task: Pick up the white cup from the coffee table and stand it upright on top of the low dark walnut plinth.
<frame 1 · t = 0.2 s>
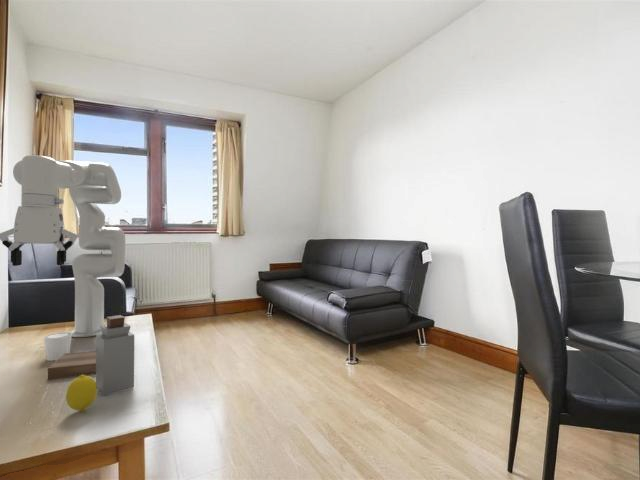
hand: (39, 265, 90), 31 cm above the table, tool pointing down, fingers open, 9 cm apart
lemon: (81, 412, 73), on the table
walnut plinth: (81, 368, 97), on the table
white cup: (58, 357, 105), on the table
perfume bottle: (114, 388, 85), on the table
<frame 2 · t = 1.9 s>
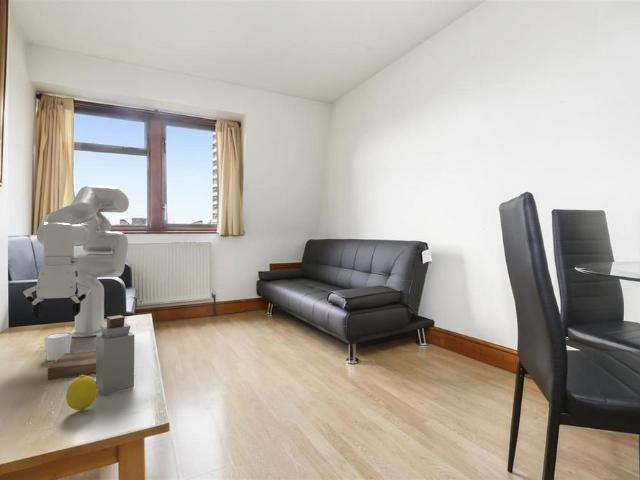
hand: (57, 316, 105), 13 cm above the table, tool pointing down, fingers open, 9 cm apart
nothing on the table moved.
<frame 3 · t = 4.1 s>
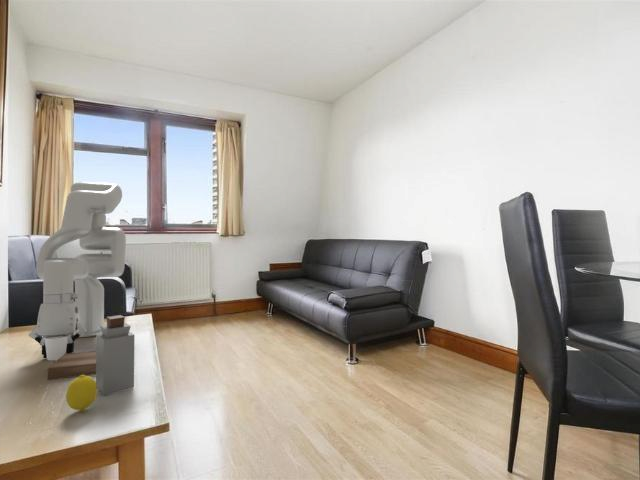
hand: (58, 355, 105), 1 cm above the table, tool pointing down, fingers closed on white cup, 5 cm apart
white cup: (58, 357, 105), on the table, touching gripper
everything else where it was.
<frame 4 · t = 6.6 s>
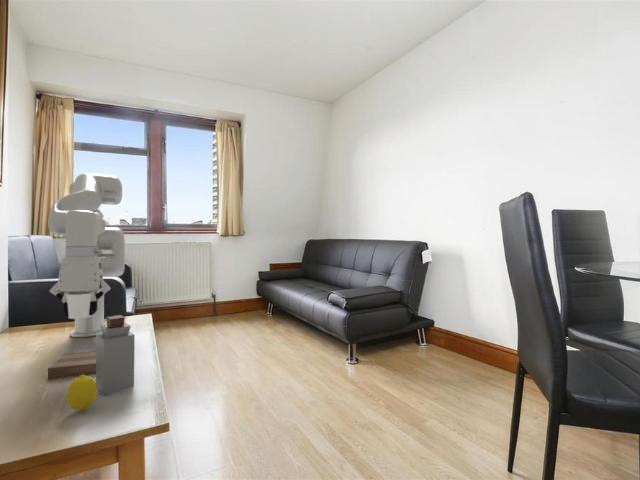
hand: (80, 314, 97), 16 cm above the table, tool pointing down, fingers closed on white cup, 5 cm apart
white cup: (80, 317, 97), point 15 cm above the table, touching gripper
everything else where it was.
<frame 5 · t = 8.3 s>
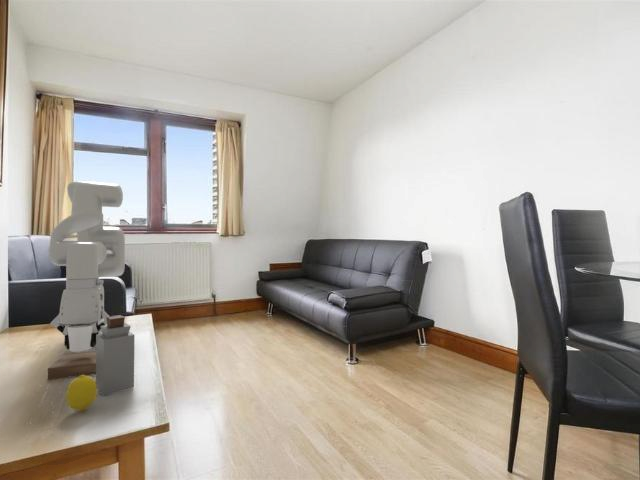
hand: (81, 346, 96), 7 cm above the table, tool pointing down, fingers closed on white cup, 5 cm apart
white cup: (81, 349, 96), point 6 cm above the table, touching gripper
everything else where it was.
when the fingers open (5 cm above the table, at t = 9.5 s): white cup drops 1 cm, resting on walnut plinth.
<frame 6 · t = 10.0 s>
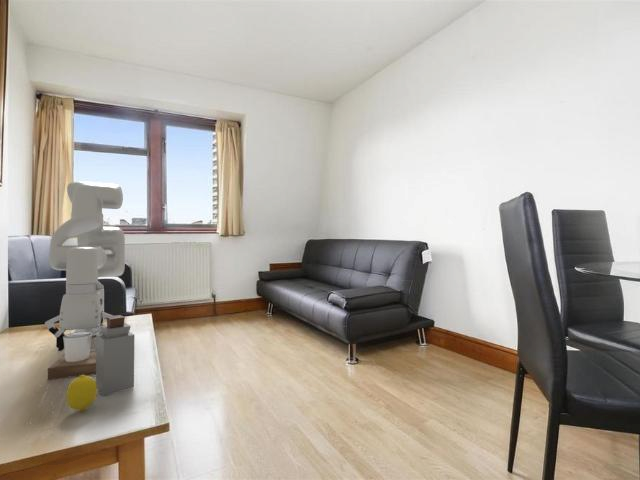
hand: (81, 348, 97), 6 cm above the table, tool pointing down, fingers open, 9 cm apart
white cup: (77, 359, 96), point 3 cm above the table, touching walnut plinth
everything else where it was.
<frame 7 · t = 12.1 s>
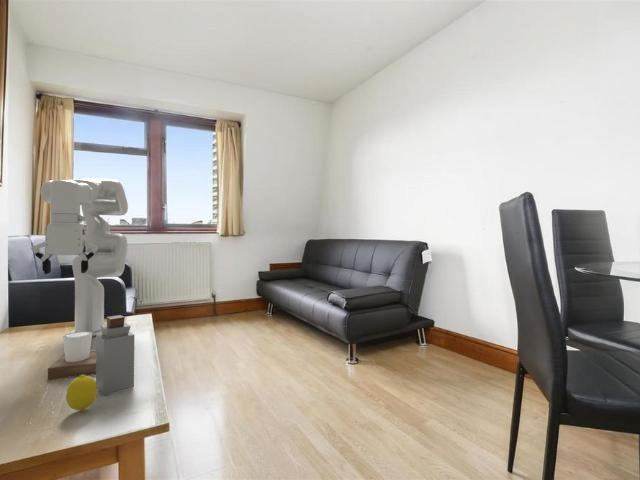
hand: (66, 272, 106), 27 cm above the table, tool pointing down, fingers open, 9 cm apart
nothing on the table moved.
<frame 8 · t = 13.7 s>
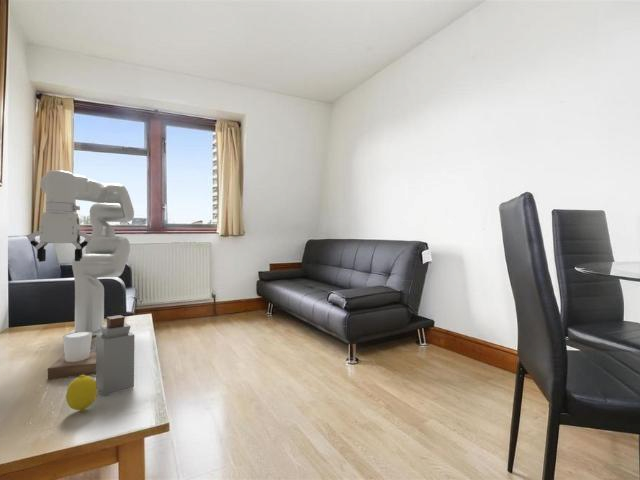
hand: (60, 261, 109), 30 cm above the table, tool pointing down, fingers open, 9 cm apart
nothing on the table moved.
at the end: white cup 1.1 cm off-centre on the walnut plinth, point 2.8 cm above the walnut plinth's base; white cup tilted 0°; the gripper is holding nothing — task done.
